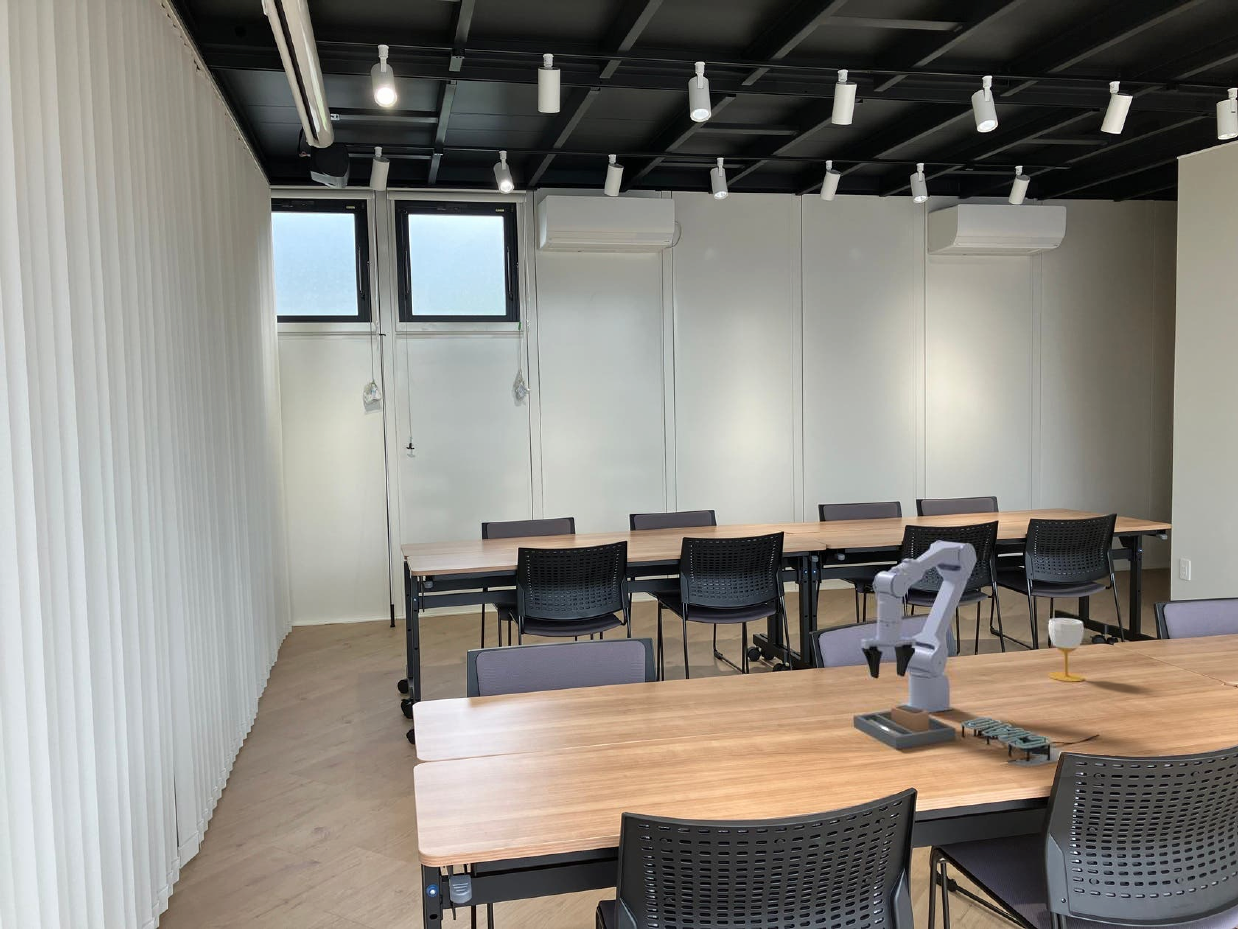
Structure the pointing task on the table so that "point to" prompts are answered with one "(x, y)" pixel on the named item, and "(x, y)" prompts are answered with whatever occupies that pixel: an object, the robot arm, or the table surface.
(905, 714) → the block
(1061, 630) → the cup
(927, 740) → the grey divided tray
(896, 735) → the rod
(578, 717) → the table surface
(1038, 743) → the neon sign
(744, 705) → the table surface
